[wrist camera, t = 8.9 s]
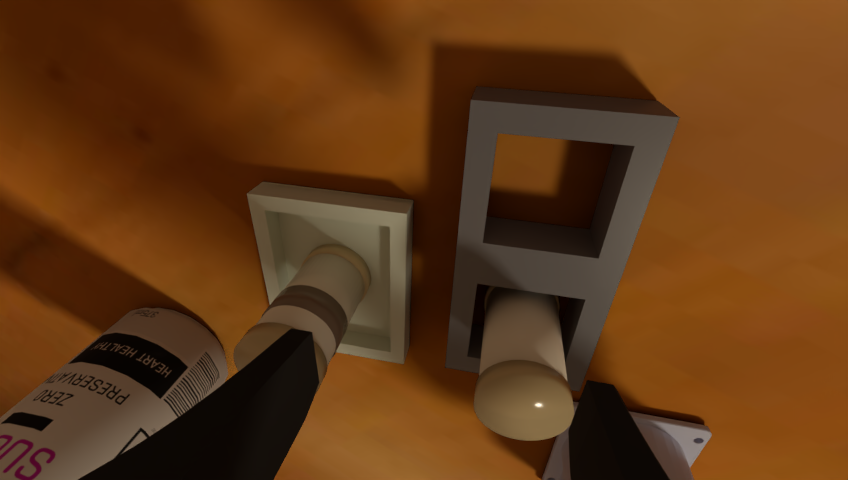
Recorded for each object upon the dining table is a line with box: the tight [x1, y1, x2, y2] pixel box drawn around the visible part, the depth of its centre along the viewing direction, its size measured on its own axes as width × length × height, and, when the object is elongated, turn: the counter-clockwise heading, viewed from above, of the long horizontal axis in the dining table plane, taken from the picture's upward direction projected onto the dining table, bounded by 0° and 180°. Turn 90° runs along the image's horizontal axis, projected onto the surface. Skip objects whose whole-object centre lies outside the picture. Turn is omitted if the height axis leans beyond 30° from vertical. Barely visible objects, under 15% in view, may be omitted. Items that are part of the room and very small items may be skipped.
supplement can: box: [0, 308, 228, 480], centre depth 23 cm, size 8×8×15 cm
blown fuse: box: [234, 244, 371, 392], centre depth 20 cm, size 4×4×7 cm
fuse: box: [474, 285, 574, 441], centre depth 19 cm, size 4×4×7 cm
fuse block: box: [445, 86, 680, 391], centre depth 19 cm, size 14×7×2 cm, turn 178°
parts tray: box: [247, 182, 414, 364], centre depth 23 cm, size 10×8×2 cm
